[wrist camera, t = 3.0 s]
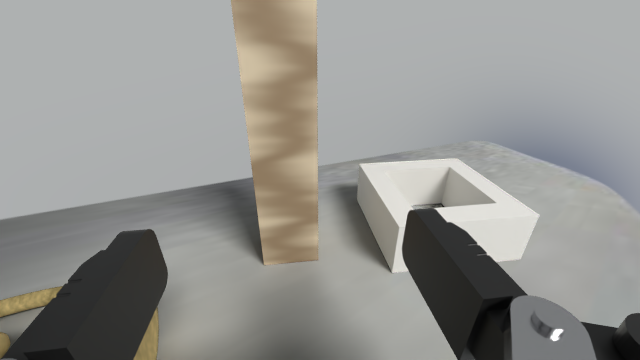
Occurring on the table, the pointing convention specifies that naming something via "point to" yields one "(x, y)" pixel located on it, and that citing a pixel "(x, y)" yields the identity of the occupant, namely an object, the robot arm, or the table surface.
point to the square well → (459, 207)
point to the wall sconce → (149, 344)
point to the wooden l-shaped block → (281, 121)
